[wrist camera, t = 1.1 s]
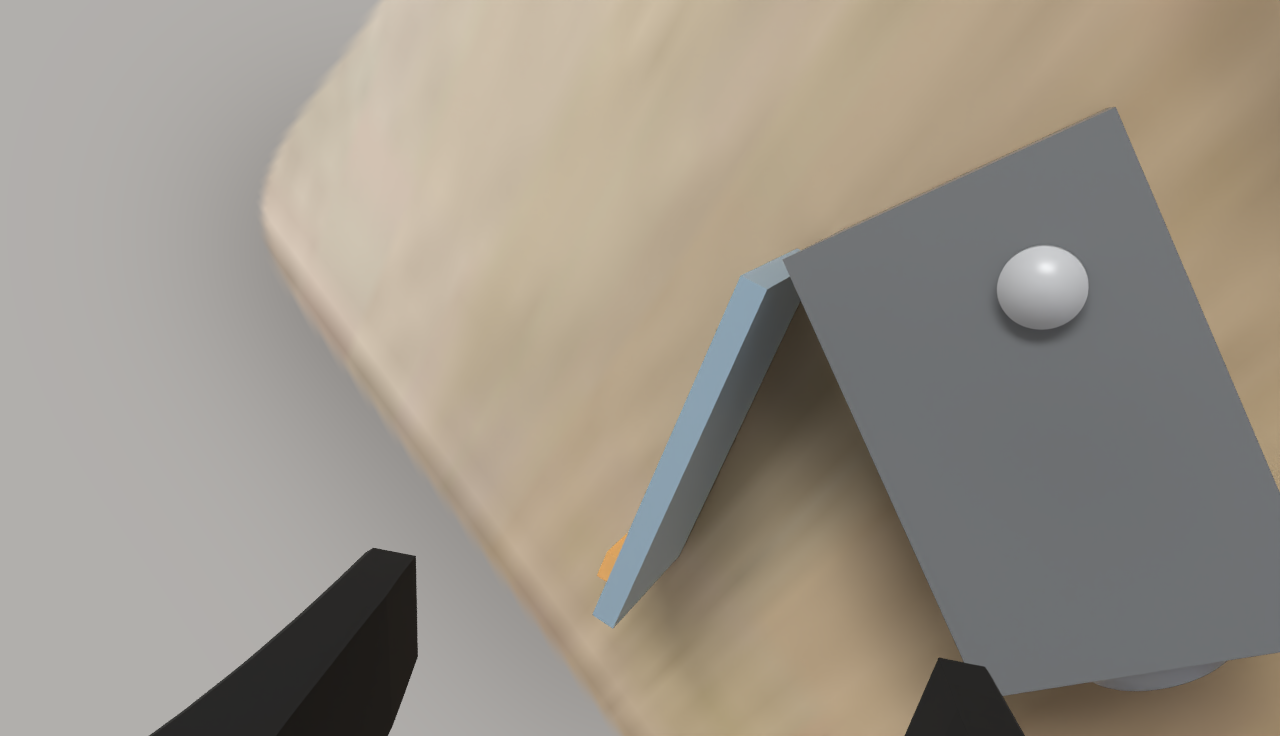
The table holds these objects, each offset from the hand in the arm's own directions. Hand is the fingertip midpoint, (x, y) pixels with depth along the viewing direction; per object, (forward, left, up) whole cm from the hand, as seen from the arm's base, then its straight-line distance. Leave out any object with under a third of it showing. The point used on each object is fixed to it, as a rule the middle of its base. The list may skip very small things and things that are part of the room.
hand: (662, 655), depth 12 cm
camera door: (+1, +3, -11) cm, 11 cm away
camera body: (-1, -5, -11) cm, 12 cm away
